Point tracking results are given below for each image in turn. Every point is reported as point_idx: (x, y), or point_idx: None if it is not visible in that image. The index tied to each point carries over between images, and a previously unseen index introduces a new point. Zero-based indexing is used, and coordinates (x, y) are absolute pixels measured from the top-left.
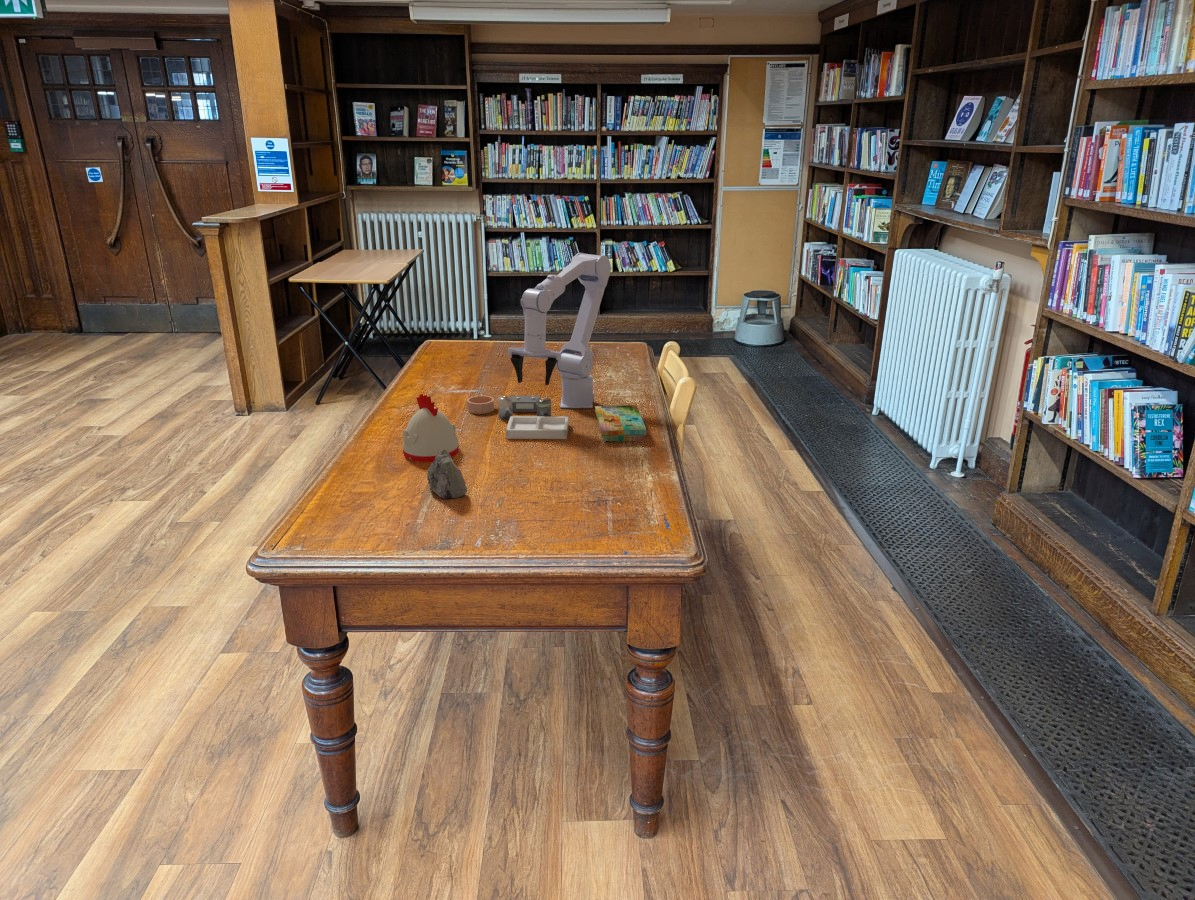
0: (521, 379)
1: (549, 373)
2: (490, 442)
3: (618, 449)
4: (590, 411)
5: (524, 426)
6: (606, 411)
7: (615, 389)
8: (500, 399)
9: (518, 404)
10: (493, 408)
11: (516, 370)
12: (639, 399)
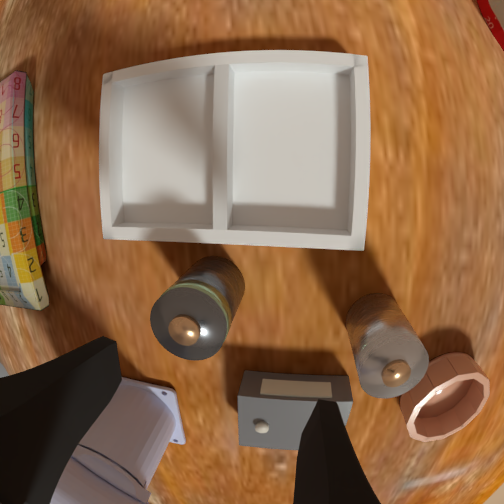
0: (307, 435)
1: (23, 373)
2: (410, 42)
3: (22, 52)
4: None
5: (291, 175)
6: (8, 253)
7: None
8: (420, 345)
9: (321, 393)
10: None
11: (361, 487)
12: None
